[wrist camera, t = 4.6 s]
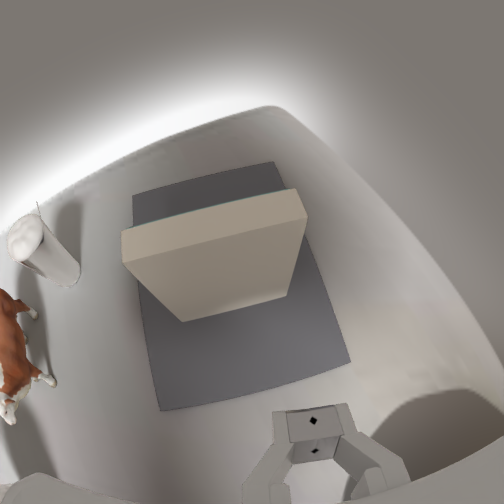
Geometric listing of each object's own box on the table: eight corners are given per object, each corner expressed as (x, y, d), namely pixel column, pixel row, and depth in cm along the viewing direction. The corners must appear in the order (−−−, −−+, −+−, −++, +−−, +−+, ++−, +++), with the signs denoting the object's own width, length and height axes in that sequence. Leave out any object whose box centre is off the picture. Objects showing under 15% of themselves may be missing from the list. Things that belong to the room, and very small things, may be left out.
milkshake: (97, 273, 26) (41, 221, 17) (60, 302, 25) (-3, 260, 16) (84, 242, 28) (34, 187, 19) (49, 269, 26) (-7, 223, 17)
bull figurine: (42, 426, 19) (-15, 425, 11) (17, 310, 24) (-31, 283, 17) (70, 419, 19) (12, 419, 12) (41, 297, 25) (-8, 266, 18)
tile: (286, 296, 24) (308, 216, 13) (182, 322, 23) (122, 263, 13) (279, 274, 25) (294, 185, 14) (178, 300, 24) (120, 227, 13)
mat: (348, 362, 22) (351, 362, 21) (162, 410, 20) (160, 411, 20) (273, 165, 32) (273, 161, 31) (134, 198, 30) (132, 195, 29)
